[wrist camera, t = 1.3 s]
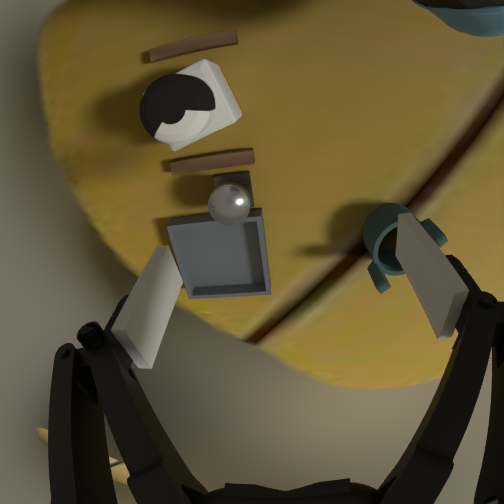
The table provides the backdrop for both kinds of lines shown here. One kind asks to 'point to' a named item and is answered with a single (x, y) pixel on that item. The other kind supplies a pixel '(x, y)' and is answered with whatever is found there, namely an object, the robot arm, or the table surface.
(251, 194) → the knob
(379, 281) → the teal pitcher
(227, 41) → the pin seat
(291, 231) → the table surface
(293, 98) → the table surface
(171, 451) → the robot arm
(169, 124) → the medicine bottle
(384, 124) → the table surface
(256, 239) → the tray
